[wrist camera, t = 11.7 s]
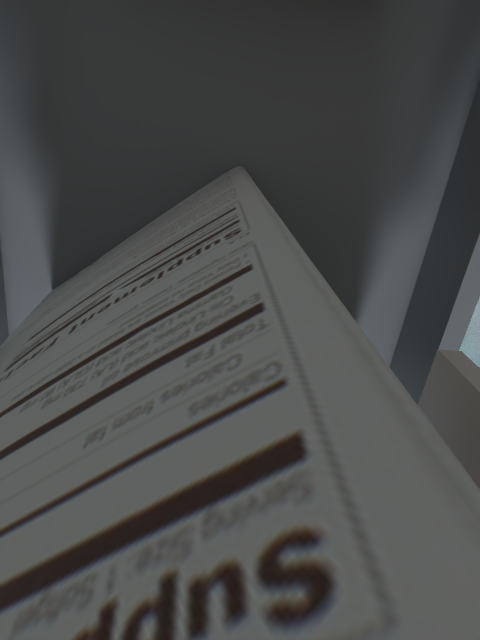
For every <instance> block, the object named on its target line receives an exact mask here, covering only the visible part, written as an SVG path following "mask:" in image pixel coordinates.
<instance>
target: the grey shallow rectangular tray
mask: <svg viewBox="0 0 480 640" xmlns="http://www.w3.org/2000/svg"><path fill="white" fill-rule="evenodd" d="M237 166H242V167H243V168H245V169H246V171H247V172H248V174H249V175H250V177H251V178H252V180H253V181H254V183H255V184H256V185H257V187H258V188H259V190H260V191H261V193H262V194H263V195H264V197H265V198H266V199H267V201H268V202H269V203H270V205H271V206H272V207H273V209H274V210H275V212H276V213H277V214H278V216H279V217H280V218H281V220H282V221H283V222H284V224H285V225H286V227H287V228H288V229H289V231H290V232H291V234H292V235H293V236H294V238H295V239H296V240H297V242H298V243H299V245H300V246H301V247H302V249H303V250H304V252H305V253H306V254H307V256H308V257H309V259H310V260H311V261H312V263H313V264H314V265H315V267H316V268H317V269H318V271H319V272H320V274H321V275H322V276H323V278H324V279H325V280H326V282H327V283H328V284H329V286H330V287H331V288H332V290H333V291H334V292H335V294H336V295H337V297H338V298H339V299H340V301H341V302H342V303H343V305H344V306H345V307H346V309H347V310H348V311H349V313H350V314H351V316H352V317H353V318H354V320H355V321H356V322H357V324H358V325H359V326H360V328H361V329H362V330H363V332H364V333H365V335H366V336H367V337H368V339H369V340H370V341H371V343H372V344H373V345H374V347H375V348H376V349H377V351H378V352H379V354H380V355H381V356H382V358H383V359H384V360H385V362H386V363H387V364H388V366H389V367H390V368H391V370H392V371H393V373H394V374H395V375H396V377H397V378H398V379H399V381H400V382H401V383H402V385H403V386H404V387H405V389H406V390H407V392H408V393H409V394H410V396H411V397H412V398H413V400H414V401H415V402H416V404H417V405H418V403H419V400H420V397H421V395H422V392H423V389H424V386H425V383H426V381H427V378H428V375H429V372H430V369H431V367H432V364H433V361H434V358H435V355H436V352H437V350H438V349H441V350H452V351H459V349H460V346H461V344H462V341H463V339H464V336H465V333H466V331H467V328H468V325H469V323H470V320H471V317H472V315H473V312H474V309H475V307H476V304H477V302H478V299H479V296H480V0H0V346H1V345H2V344H3V343H4V341H5V340H6V339H7V338H8V337H9V336H10V335H11V334H12V333H13V332H14V331H15V330H16V329H17V328H18V327H19V325H20V324H21V323H22V322H23V321H24V320H25V319H26V318H27V317H28V316H29V314H30V313H31V312H32V311H33V310H34V309H35V308H36V307H37V306H38V305H39V304H40V303H41V302H42V300H43V299H44V298H45V297H46V296H47V295H48V294H49V293H50V292H51V291H52V290H54V289H55V288H56V287H58V286H59V285H61V284H62V283H64V282H65V281H67V280H68V279H70V278H71V277H72V276H74V275H75V274H77V273H78V272H80V271H81V270H83V269H84V268H86V267H87V266H89V265H90V264H92V263H93V262H95V261H96V260H97V259H99V258H100V257H102V256H103V255H104V254H106V253H107V252H109V251H110V250H112V249H113V248H115V247H116V246H117V245H119V244H120V243H122V242H123V241H125V240H126V239H127V238H129V237H130V236H132V235H133V234H135V233H136V232H138V231H139V230H140V229H142V228H143V227H145V226H146V225H148V224H149V223H151V222H152V221H154V220H155V219H156V218H158V217H159V216H161V215H162V214H164V213H165V212H167V211H168V210H170V209H171V208H173V207H174V206H175V205H177V204H178V203H180V202H181V201H183V200H184V199H186V198H187V197H189V196H190V195H192V194H193V193H195V192H196V191H198V190H199V189H201V188H202V187H204V186H205V185H207V184H208V183H210V182H212V181H213V180H215V179H216V178H218V177H219V176H221V175H223V174H224V173H226V172H228V171H229V170H231V169H233V168H235V167H237Z"/></svg>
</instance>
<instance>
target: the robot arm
mask: <svg viewBox="0 0 480 640" xmlns="http://www.w3.org/2000/svg"><path fill="white" fill-rule="evenodd" d="M418 406H419V408H420V409H421V411H422V412H423V413H424V415H425V416H426V417H427V419H428V420H429V421H430V423H431V424H432V425H433V427H434V428H435V430H436V431H437V432H438V434H439V435H440V436H441V438H442V439H443V440H444V442H445V443H446V444H447V446H448V447H449V449H450V450H451V451H452V453H453V454H454V455H455V457H456V458H457V459H458V461H459V462H460V463H461V465H462V466H463V468H464V469H465V470H466V472H467V473H468V474H469V476H470V477H471V478H472V480H473V481H474V483H475V484H476V485H477V487H478V488H479V489H480V368H479V367H478V366H477V365H476V364H474V363H473V362H472V361H471V360H470V359H469V358H468V357H467V356H466V355H465V354H464V353H463V352H462V351H452V350H441V349H438V350H437V352H436V355H435V358H434V361H433V364H432V367H431V369H430V372H429V375H428V378H427V381H426V383H425V386H424V389H423V392H422V395H421V397H420V400H419V403H418Z"/></svg>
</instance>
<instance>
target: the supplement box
mask: <svg viewBox="0 0 480 640" xmlns="http://www.w3.org/2000/svg"><path fill="white" fill-rule="evenodd" d="M0 640H480V489H479V488H478V487H477V485H476V484H475V483H474V481H473V480H472V478H471V477H470V476H469V474H468V473H467V472H466V470H465V469H464V468H463V466H462V465H461V463H460V462H459V461H458V459H457V458H456V457H455V455H454V454H453V453H452V451H451V450H450V449H449V447H448V446H447V444H446V443H445V442H444V440H443V439H442V438H441V436H440V435H439V434H438V432H437V431H436V430H435V428H434V427H433V425H432V424H431V423H430V421H429V420H428V419H427V417H426V416H425V415H424V413H423V412H422V411H421V409H420V408H419V406H418V405H417V404H416V402H415V401H414V400H413V398H412V397H411V396H410V394H409V393H408V392H407V390H406V389H405V387H404V386H403V385H402V383H401V382H400V381H399V379H398V378H397V377H396V375H395V374H394V373H393V371H392V370H391V368H390V367H389V366H388V364H387V363H386V362H385V360H384V359H383V358H382V356H381V355H380V354H379V352H378V351H377V349H376V348H375V347H374V345H373V344H372V343H371V341H370V340H369V339H368V337H367V336H366V335H365V333H364V332H363V330H362V329H361V328H360V326H359V325H358V324H357V322H356V321H355V320H354V318H353V317H352V316H351V314H350V313H349V311H348V310H347V309H346V307H345V306H344V305H343V303H342V302H341V301H340V299H339V298H338V297H337V295H336V294H335V292H334V291H333V290H332V288H331V287H330V286H329V284H328V283H327V282H326V280H325V279H324V278H323V276H322V275H321V274H320V272H319V271H318V269H317V268H316V267H315V265H314V264H313V263H312V261H311V260H310V259H309V257H308V256H307V254H306V253H305V252H304V250H303V249H302V247H301V246H300V245H299V243H298V242H297V240H296V239H295V238H294V236H293V235H292V234H291V232H290V231H289V229H288V228H287V227H286V225H285V224H284V222H283V221H282V220H281V218H280V217H279V216H278V214H277V213H276V212H275V210H274V209H273V207H272V206H271V205H270V203H269V202H268V201H267V199H266V198H265V197H264V195H263V194H262V193H261V191H260V190H259V188H258V187H257V185H256V184H255V183H254V181H253V180H252V178H251V177H250V175H249V174H248V172H247V171H246V169H245V168H243V167H242V166H237V167H235V168H233V169H231V170H229V171H228V172H226V173H224V174H223V175H221V176H219V177H218V178H216V179H215V180H213V181H212V182H210V183H208V184H207V185H205V186H204V187H202V188H201V189H199V190H198V191H196V192H195V193H193V194H192V195H190V196H189V197H187V198H186V199H184V200H183V201H181V202H180V203H178V204H177V205H175V206H174V207H173V208H171V209H170V210H168V211H167V212H165V213H164V214H162V215H161V216H159V217H158V218H156V219H155V220H154V221H152V222H151V223H149V224H148V225H146V226H145V227H143V228H142V229H140V230H139V231H138V232H136V233H135V234H133V235H132V236H130V237H129V238H127V239H126V240H125V241H123V242H122V243H120V244H119V245H117V246H116V247H115V248H113V249H112V250H110V251H109V252H107V253H106V254H104V255H103V256H102V257H100V258H99V259H97V260H96V261H95V262H93V263H92V264H90V265H89V266H87V267H86V268H84V269H83V270H81V271H80V272H78V273H77V274H75V275H74V276H72V277H71V278H70V279H68V280H67V281H65V282H64V283H62V284H61V285H59V286H58V287H56V288H55V289H54V290H52V291H51V292H50V293H49V294H48V295H47V296H46V297H45V298H44V299H43V300H42V302H41V303H40V304H39V305H38V306H37V307H36V308H35V309H34V310H33V311H32V312H31V313H30V314H29V316H28V317H27V318H26V319H25V320H24V321H23V322H22V323H21V324H20V325H19V327H18V328H17V329H16V330H15V331H14V332H13V333H12V334H11V335H10V336H9V337H8V338H7V339H6V340H5V341H4V343H3V344H2V345H1V346H0Z"/></svg>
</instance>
